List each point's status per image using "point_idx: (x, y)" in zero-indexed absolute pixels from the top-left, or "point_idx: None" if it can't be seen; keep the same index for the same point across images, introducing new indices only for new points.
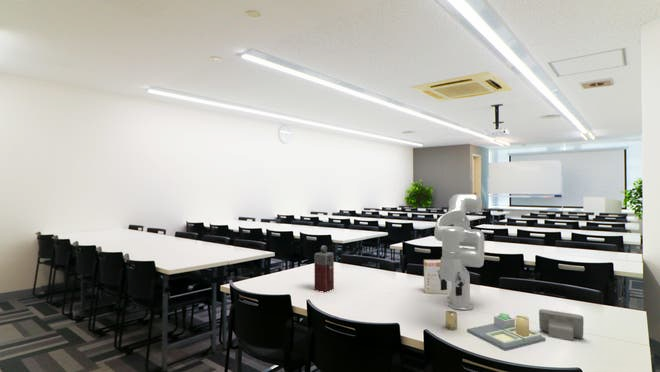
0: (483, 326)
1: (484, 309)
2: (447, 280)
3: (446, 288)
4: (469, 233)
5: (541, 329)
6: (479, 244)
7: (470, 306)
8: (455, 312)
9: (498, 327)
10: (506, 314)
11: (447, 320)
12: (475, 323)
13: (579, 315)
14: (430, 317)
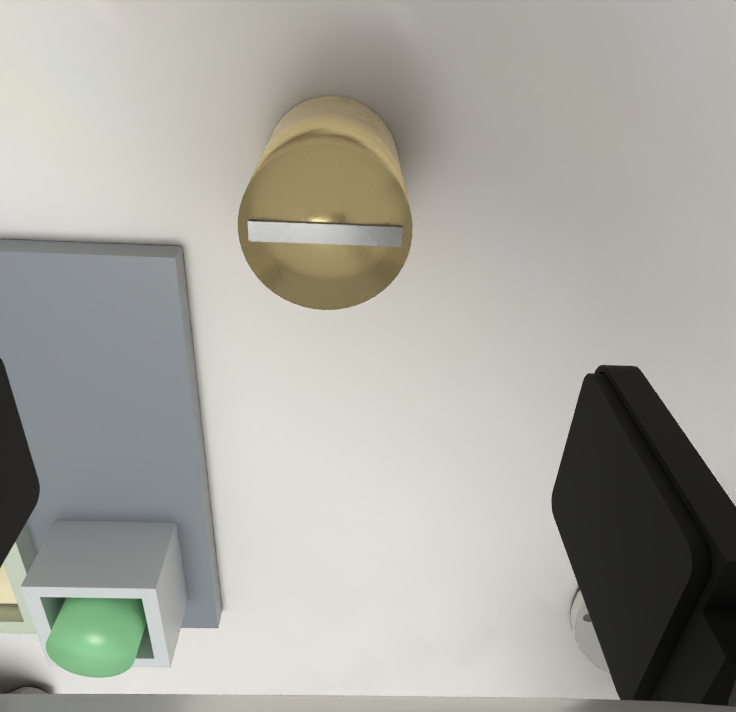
0: (179, 436)
1: (512, 679)
2: (167, 694)
3: (561, 516)
4: None
5: (20, 693)
6: None
7: (593, 642)
8: (307, 293)
9: (119, 516)
10: (96, 670)
11: (322, 119)
12: (323, 453)
13: None
14: (706, 178)
